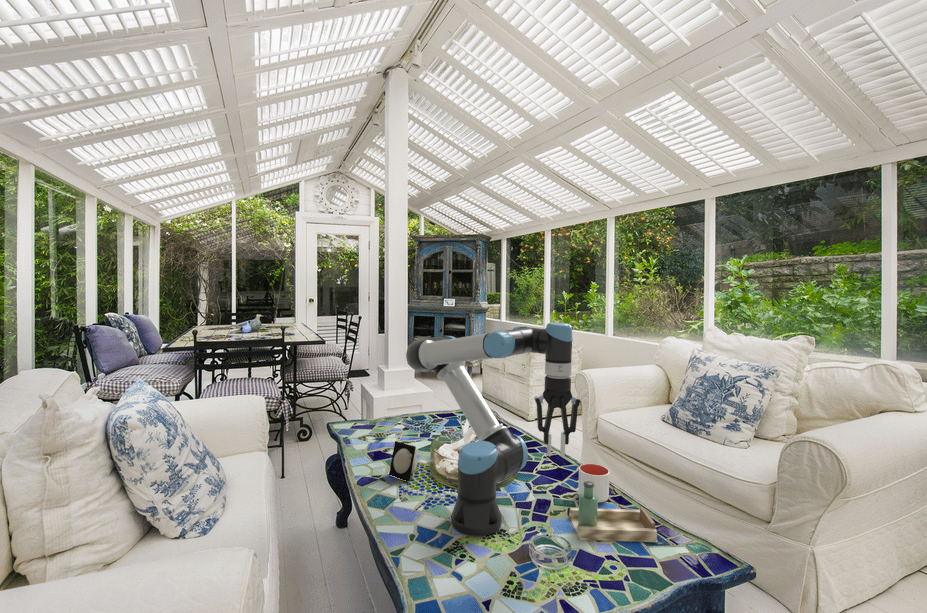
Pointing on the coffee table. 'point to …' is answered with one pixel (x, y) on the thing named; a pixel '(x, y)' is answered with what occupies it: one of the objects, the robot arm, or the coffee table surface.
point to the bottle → (588, 506)
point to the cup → (595, 480)
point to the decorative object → (403, 461)
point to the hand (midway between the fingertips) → (555, 454)
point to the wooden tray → (617, 526)
